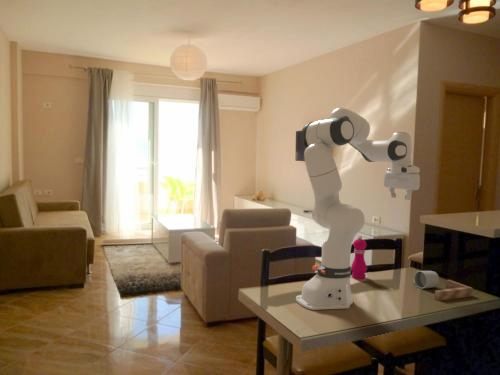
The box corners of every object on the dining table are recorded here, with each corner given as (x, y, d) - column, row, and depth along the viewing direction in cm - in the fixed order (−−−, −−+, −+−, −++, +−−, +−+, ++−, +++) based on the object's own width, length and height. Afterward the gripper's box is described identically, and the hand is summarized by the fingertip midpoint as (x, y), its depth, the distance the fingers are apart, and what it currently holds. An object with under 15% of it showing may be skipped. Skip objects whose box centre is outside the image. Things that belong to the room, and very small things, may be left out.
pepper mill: (369, 278, 193) (371, 236, 191) (356, 280, 190) (358, 237, 188) (360, 274, 199) (361, 234, 198) (347, 276, 197) (349, 234, 195)
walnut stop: (438, 300, 164) (438, 292, 164) (416, 291, 175) (417, 283, 175) (472, 296, 170) (472, 287, 170) (449, 287, 181) (449, 279, 181)
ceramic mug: (440, 289, 179) (441, 271, 178) (426, 291, 176) (426, 273, 176) (422, 282, 189) (423, 266, 188) (408, 284, 186) (409, 267, 186)
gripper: (380, 167, 195) (380, 196, 196) (410, 169, 175) (410, 201, 177) (391, 167, 197) (391, 196, 198) (422, 168, 178) (421, 200, 179)
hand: (400, 198), depth 187 cm, fingers open, 8 cm apart
